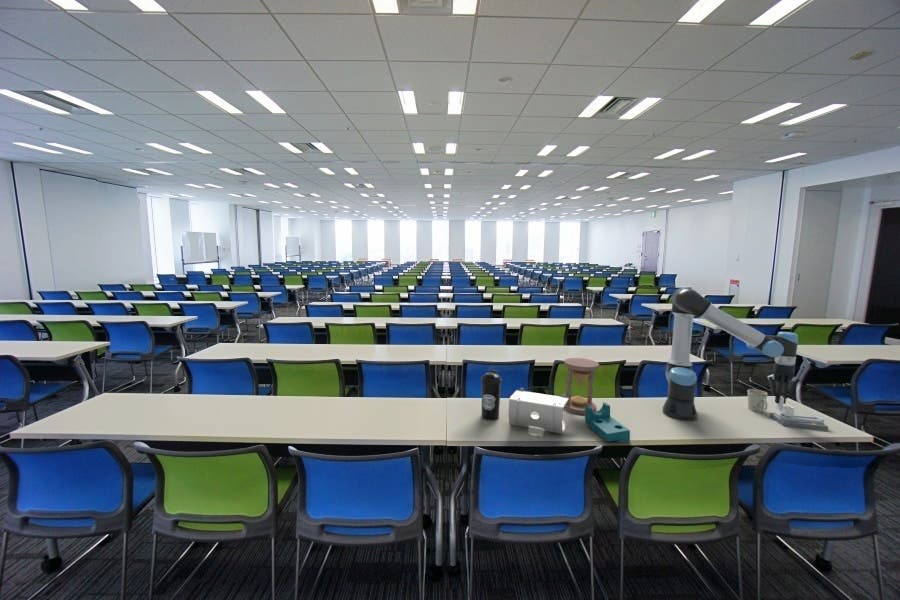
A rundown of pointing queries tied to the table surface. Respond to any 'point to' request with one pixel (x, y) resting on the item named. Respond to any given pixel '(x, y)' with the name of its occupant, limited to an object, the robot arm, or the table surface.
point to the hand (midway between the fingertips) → (779, 409)
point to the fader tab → (787, 410)
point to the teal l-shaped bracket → (606, 424)
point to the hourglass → (581, 373)
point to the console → (800, 421)
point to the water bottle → (491, 395)
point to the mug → (757, 400)
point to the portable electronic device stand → (543, 405)
